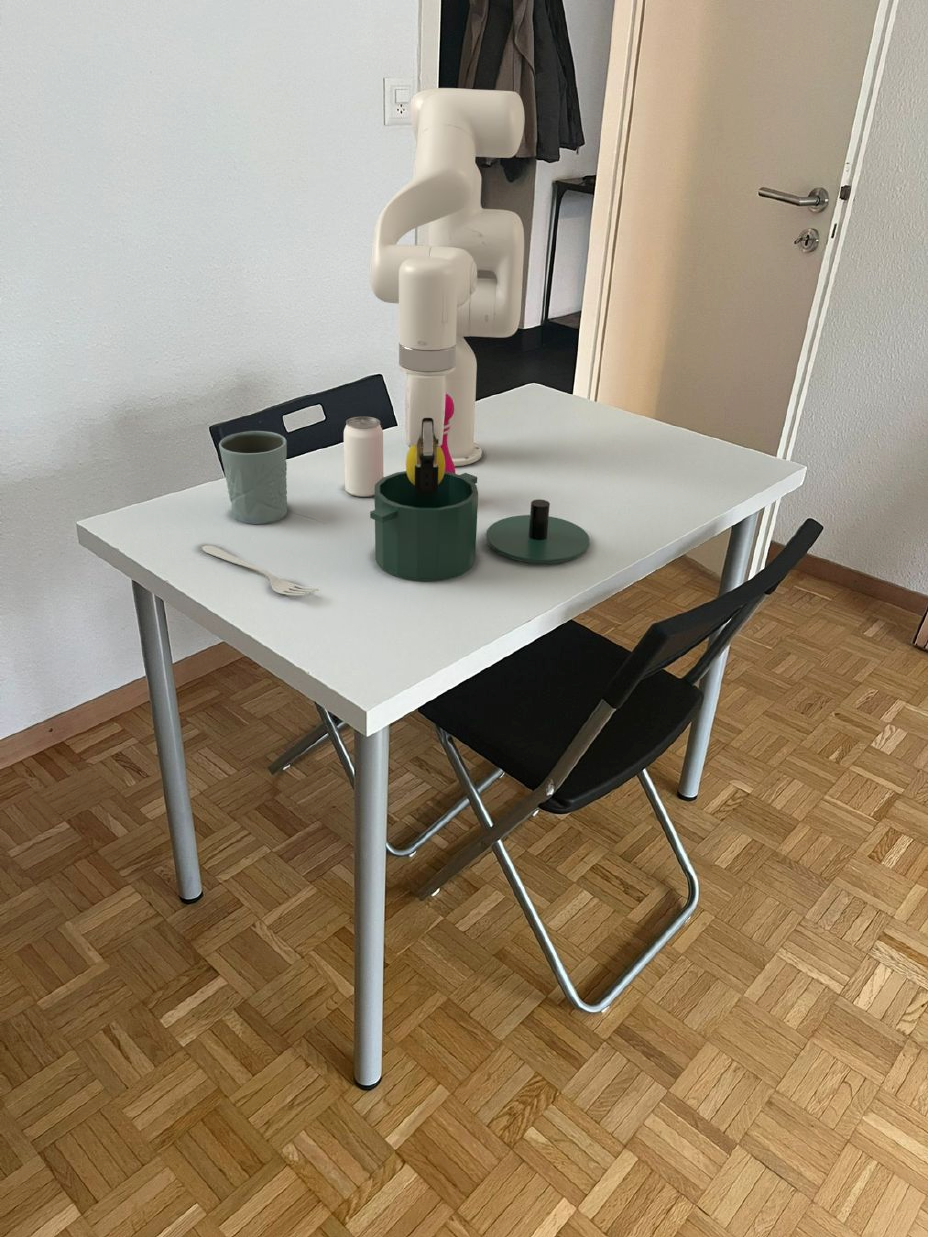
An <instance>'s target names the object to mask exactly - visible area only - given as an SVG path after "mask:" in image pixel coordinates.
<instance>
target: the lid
mask: <svg viewBox="0 0 928 1237" xmlns="http://www.w3.org/2000/svg"><path fill="white" fill-rule="evenodd" d="M550 504H551V503H550V502H549V501H548V500H545V499H540V498H539V499H533V500H531V502H530V510H529V511H530V513H529V514H521V515H514V516H513V515H512V516H509V517H505V518H502V519H499V520H496V521H495V522H494V523H492V524H491V525H490V526H489V527H488V528H487V530H486V533H485V540H486V543H487V545H488V546H489V547H490V548H491V550H493V551H495V552H496V553H497V554H499V555H502V556H504V557H507V558H509V559H513V560H515V561H519V562H520V561H521V562H526V563H533V564H555V563H556V564H557V563H562V562H567V561H568V562H569V561H572V560H574V559H577V558H578V557H581V556H582V555H584V554H585V553H587V551H588V549H589V548H590V536H589V534H588V533H587V531H586V530H584V529H583V528H582V527H580V526H579V525H578V524H575V523H574V522H572V521H569V520H566V519H562V518H558V517H556V516H555V517H554V516H550V506H551V505H550Z"/></svg>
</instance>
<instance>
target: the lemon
mask: <svg viewBox="0 0 928 1237" xmlns="http://www.w3.org/2000/svg"><path fill="white" fill-rule="evenodd" d="M420 444H423V440H420ZM432 445H434V441H432ZM416 446H417V444H416ZM416 446H411V447H409V450H408V452H407V455H406V459H405V471H407V476H408V478H409V480H410V481H411V483H412V484H413V485H414V486H415V466H417V447H416ZM421 453H423V449H421ZM437 466H438V484H439V483H440V482H441V480H442V479H443V476H444V473H445V457H444V453H443V451H442V449H441V447H438V446H437Z"/></svg>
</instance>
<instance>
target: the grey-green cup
mask: <svg viewBox="0 0 928 1237" xmlns="http://www.w3.org/2000/svg"><path fill="white" fill-rule="evenodd" d="M287 442H288V441H287V439H286V438H285V436H283V435H281V434H279V433H276V432H272V431H263V430H248V431H241V432H236V433H232V434H230V435H227V436H225V437H224V438H221V440H220V441H219V443H218V448H219V452H220V457H221V463H222V466H223V469H224V471H223V472H224V476H225V481H226V487H227V492H228V495H229V497H228V498H229V501H230V503H231V512H232V515H233V518H234V519H235V520H236V521H237V522H238V521H239V522H241V523H244V524H249V525H266V524H270V523H271V524H272V523H275V522H278V521H279V520H282V519H284V517H286V515H287V513H288V496H287V494H288V491H287V487H288V485H287V483H288V482H287V475H288V473H287V470H288V467H287V464H288V463H287V455H288V454H287V453H288V452H287V446H288V445H287V444H288V443H287Z"/></svg>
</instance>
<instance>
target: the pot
mask: <svg viewBox="0 0 928 1237" xmlns="http://www.w3.org/2000/svg"><path fill="white" fill-rule="evenodd" d="M477 484H478V476H476V475H473V474H470V473H467V472H464V473H461V474H458V473H456V474H455V473H451V472H445V473H444V476H443V479H442V480H441V482H440V483H439V484H438V493H437V494H416V493H415V486H414V485H413V484H412V483H411V481H410V480H409V478H408V476H407V471H406V470H405V471H398V472H394V473H391V474H388V475H387V476H383V478H382V479H381V480H380V481H379V482H377V483H376V484H375V496H374V509H373V510H371V511H370V512H369V518H370V519H371V520H374V549H375V552H374V553H375V554H374V556H375V558H374V559H375V563H376V564H377V566H378V567H379V568H380V569H381V570H382V571H384V572H385V573H386V574H388V575H391V576H393V577H396V578H399V579H402V580H408V581H413V582H414V581H415V582H439V581H446V580H451V579H454V578H457V577H459V576H462V575H464V574H466V573H468V571H470V569H471V568H473V566H474V564H475V561H476V554H477V553H476V552H477V534H478V532H477V531H478V530H477V529H478V527H477V526H478V509H479V491H478V490H479V489H478V486H477Z"/></svg>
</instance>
